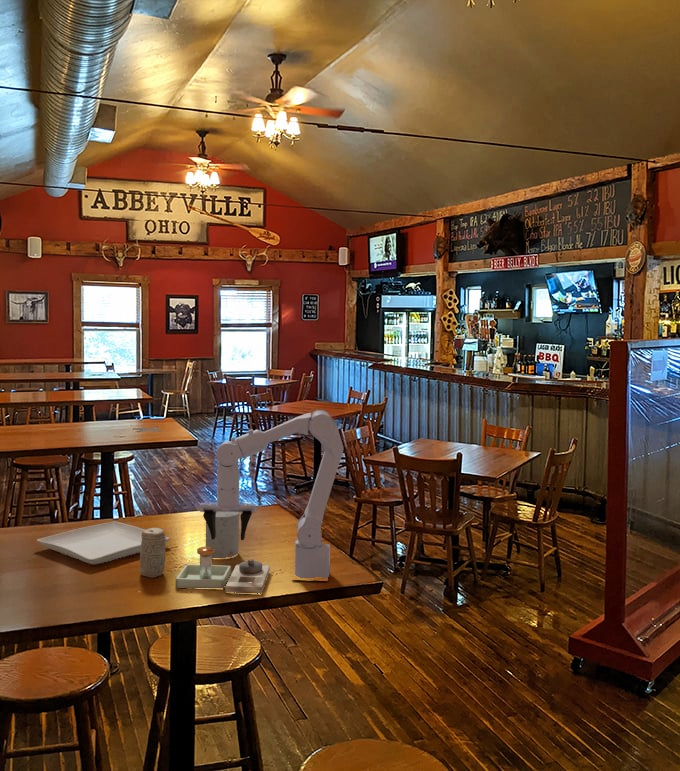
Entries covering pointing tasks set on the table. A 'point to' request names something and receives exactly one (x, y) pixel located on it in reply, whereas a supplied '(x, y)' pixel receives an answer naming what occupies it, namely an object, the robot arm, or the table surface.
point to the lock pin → (205, 562)
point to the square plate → (97, 542)
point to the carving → (152, 552)
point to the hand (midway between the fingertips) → (228, 538)
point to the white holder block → (248, 577)
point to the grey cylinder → (224, 535)
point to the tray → (192, 579)
